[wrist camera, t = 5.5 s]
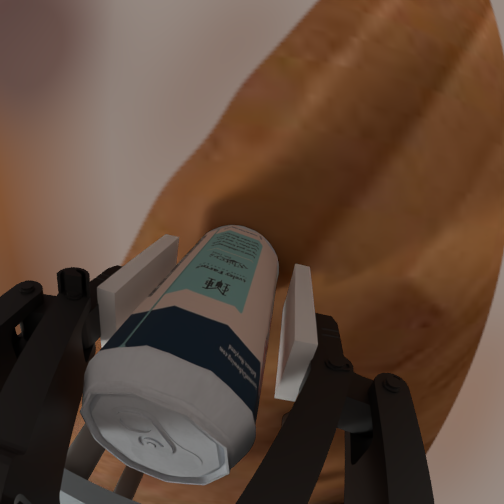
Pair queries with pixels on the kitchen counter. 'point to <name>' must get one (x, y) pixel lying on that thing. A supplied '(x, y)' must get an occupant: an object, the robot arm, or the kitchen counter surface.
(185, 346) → the beer can
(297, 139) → the kitchen counter surface
